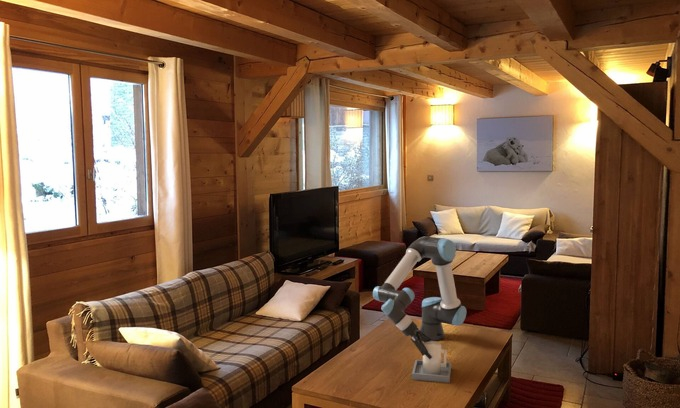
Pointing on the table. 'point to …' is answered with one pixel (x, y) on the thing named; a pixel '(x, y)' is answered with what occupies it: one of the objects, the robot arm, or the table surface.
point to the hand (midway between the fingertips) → (436, 357)
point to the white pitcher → (436, 352)
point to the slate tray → (419, 374)
